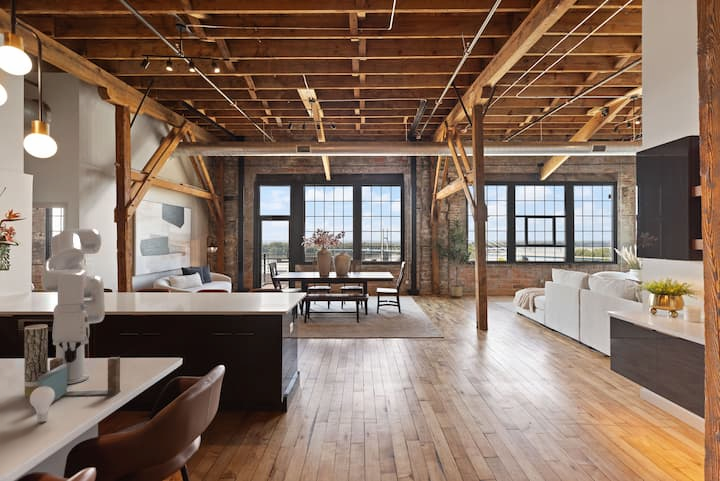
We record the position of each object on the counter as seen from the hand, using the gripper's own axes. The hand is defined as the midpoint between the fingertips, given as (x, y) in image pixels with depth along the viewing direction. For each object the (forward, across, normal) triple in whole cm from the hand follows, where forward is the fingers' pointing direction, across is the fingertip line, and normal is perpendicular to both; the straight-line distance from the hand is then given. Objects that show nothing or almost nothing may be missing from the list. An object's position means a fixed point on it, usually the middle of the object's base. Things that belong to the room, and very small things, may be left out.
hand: (70, 361), depth 153 cm
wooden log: (+15, +16, -12) cm, 25 cm away
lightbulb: (+14, +1, +16) cm, 21 cm away
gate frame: (+15, -1, -9) cm, 18 cm away
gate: (+14, +6, -2) cm, 15 cm away
